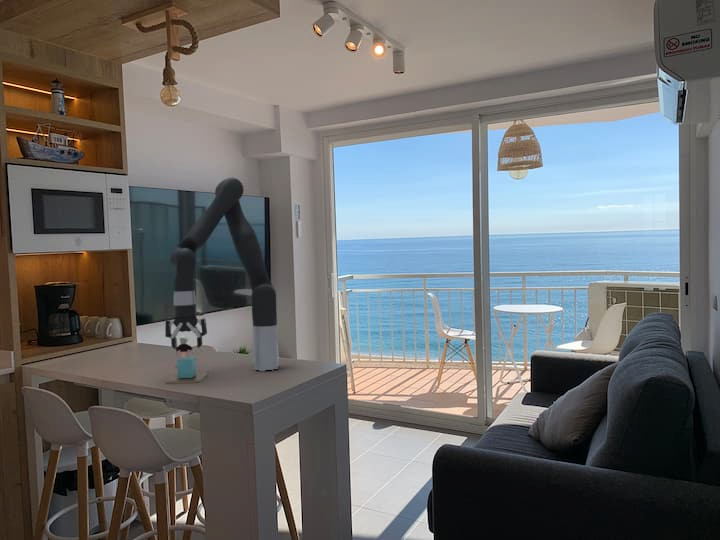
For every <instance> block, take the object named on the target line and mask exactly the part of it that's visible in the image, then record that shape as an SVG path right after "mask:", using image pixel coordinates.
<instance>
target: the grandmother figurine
mask: <svg viewBox="0 0 720 540" xmlns="http://www.w3.org/2000/svg"><path fill="white" fill-rule="evenodd" d="M187 342H189V339H188V337H187V336H186V335H180V336H179V343H180V344H179V345H177V348H176V349H174V350H175V351H174V355H177V354H178V359H179V358H181V357H190V356H189V355H190V354H189V351H190V352H191V353H192V354H195V351H194V348H193V346H191V345H189V344H187ZM178 352H179V353H178Z"/></svg>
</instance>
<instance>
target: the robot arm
mask: <svg viewBox="0 0 720 540" xmlns="http://www.w3.org/2000/svg"><path fill="white" fill-rule="evenodd" d="M214 194H215V197H214V199H213V200H212V202H210V203H211V204H210V205H209V206H208V207H207V208H206V210H204V212H203V213H202V214H201V215H200V216H199V218H197V220H196V221H195V223H194V224H193V225H192V227H191V228H190V229H189V231H188V232H187V234H186V235H185V237H184V238H183V239H182V240H181V241H180V242H179V243H178V244H177V245H176V246H175V248H174V249H173V250H171V253H170V257H169V261H170V263H171V265H172V266H173V267H175V268H176V274H175V276H174V277H173V314H174V320H171V319H167V320H166V321H165V328H164V329H165V330H164V331H165V335H164V336H165V337H166V338H169V339H170V340H171V341H170V342H171V348H173V350H176V348H177V347H178V342H177V341H178V340H177V339H178V338H177V336H178V334H179V333H180V332H181V333H185V332H192V333H194V334H195V336H197V337H196V343H197V344H196V345H197V346H196V347H197V348H198V349H199V348H201V347H202V346H203V337H204V336H206V335H207V334H208V328H207V321H206V320H207V319H206V318H205V317H203V318H200V319H198V318H197V302H196V301H197V300H196V299H197V298H196V294H195V293H196V292H195V281H194V280H195V279H194V278H195V274H196V263H197V261H196V260H197V258H196V255H195V254H196V252H197V251H198V250H200V249H201V248H202V247H204V246H205V244H206V242H207V241H208V240H209V239H210V237H211V235H212V234H213V232H214V231H215V229H216V228H217V226H218V224H219V223H220V222H221V220H222V219H223V217H224V218H225V221H226V224H227V227H228V231H229V233H230V237H231V239H232V243H233V246H234V249H235V251H236V254H237V257H238V258H239V261H240V263H241V265H242V267H243V268H244V271H245V272H246V274H247V277H248V281H249V284H250V289H251V319H252V339H253V340H252V341H253V370H254V369H255V370H254V371H256V370H259V371H258V372H266V371H265V370H272V371H274V370H273V369H279V368H278V366H279V367H280V360H279V358H280V356H279V354H280V353H279V342H278V317H277V315H278V314H277V292H276V291H277V290H276V289H275V287H274V286H273V284H272V282H271V280H270V278H269V275H268V272H267V270H266V266H265V265H266V264H265V261H264V256H263V252H262V249H261V246H260V242H259V239H258V236H257V234H256V232H255V229H254V228H253V227H252V225H251V224H250V222H249V220H248V219H247V218H246V217H245V214H244V211H243V210H242V209H243V208H242V206H241V203H240V199H241V198H242V196H243V194H244V186H243V183H242V182H241V181H240V180H239V179H238V178H236V177H228V178H227V177H226V178H225V179H223V180H221V181H220V183H218V185H216V187H215V193H214ZM198 324H199V326H200V327H201V331H200V329H199V328H198V327H197V325H198ZM173 325H174V326H175V329H174V331H173V332H172V333H171V331H172V326H173Z"/></svg>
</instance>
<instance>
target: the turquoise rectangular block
mask: <svg viewBox="0 0 720 540" xmlns="http://www.w3.org/2000/svg"><path fill="white" fill-rule="evenodd" d="M176 364H177V365H176V367H177V374H178V378H193V377H194V376H195V375H196V373H197V358H196V356H189V357H181V358H179V357H178V359H177V360H176Z"/></svg>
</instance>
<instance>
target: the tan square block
mask: <svg viewBox="0 0 720 540" xmlns="http://www.w3.org/2000/svg"><path fill="white" fill-rule="evenodd" d="M208 375H209V372H196V375H195V376H194V377H193V378H178V373H174V374H173V375H172V376H170V377H169V378H168V379H167V380H166V381H165V384H166V383H172V384H194V382H200V383H201V382H202V381H203V380H204V379H205V378H206V377H208Z"/></svg>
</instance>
